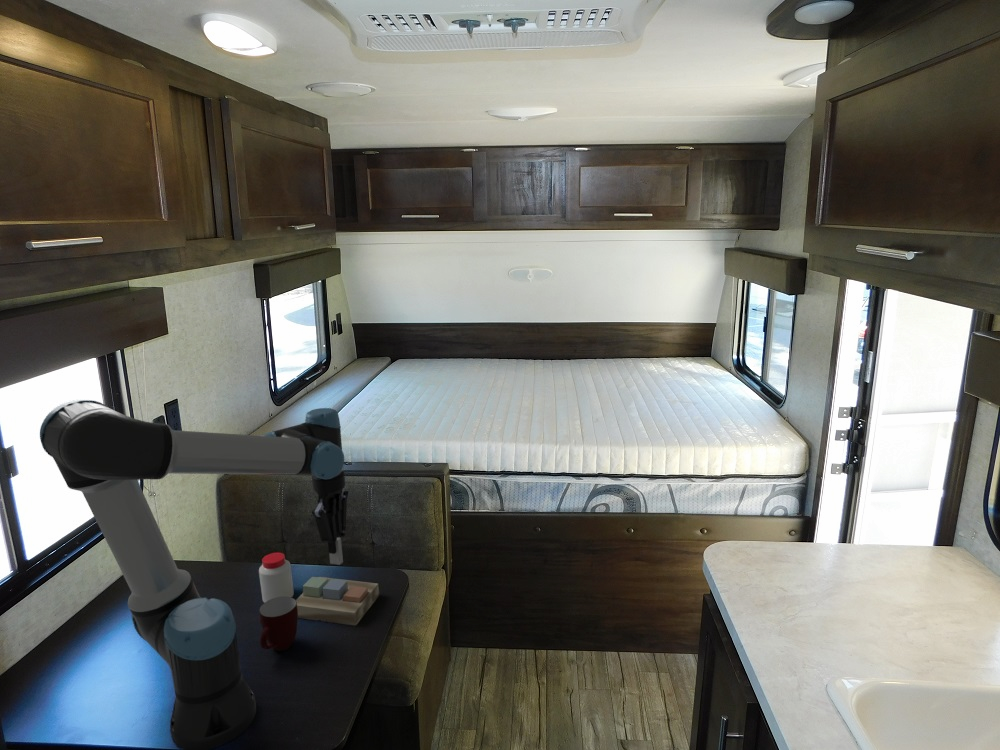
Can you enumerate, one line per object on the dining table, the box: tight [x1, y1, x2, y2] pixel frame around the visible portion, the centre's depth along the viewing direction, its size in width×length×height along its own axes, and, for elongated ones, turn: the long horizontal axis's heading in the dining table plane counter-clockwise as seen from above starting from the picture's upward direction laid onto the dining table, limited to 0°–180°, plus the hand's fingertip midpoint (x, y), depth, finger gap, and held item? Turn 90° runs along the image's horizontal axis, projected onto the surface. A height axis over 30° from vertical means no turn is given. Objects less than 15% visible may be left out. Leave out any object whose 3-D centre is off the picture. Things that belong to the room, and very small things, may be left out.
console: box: [295, 576, 380, 626], centre depth 159 cm, size 13×17×3 cm
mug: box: [258, 597, 298, 652], centre depth 142 cm, size 10×8×10 cm
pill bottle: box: [258, 552, 295, 604], centre depth 163 cm, size 8×8×11 cm
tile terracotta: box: [343, 586, 368, 603], centre depth 157 cm, size 4×4×3 cm
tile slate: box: [323, 578, 348, 601], centre depth 158 cm, size 4×4×3 cm
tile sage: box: [302, 576, 328, 598], centre depth 160 cm, size 4×4×3 cm
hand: (336, 562), depth 156 cm, fingers closed
